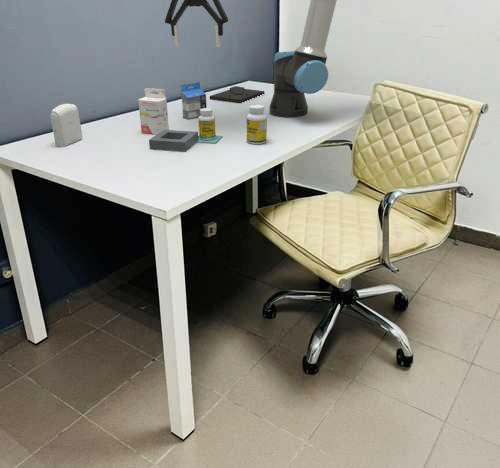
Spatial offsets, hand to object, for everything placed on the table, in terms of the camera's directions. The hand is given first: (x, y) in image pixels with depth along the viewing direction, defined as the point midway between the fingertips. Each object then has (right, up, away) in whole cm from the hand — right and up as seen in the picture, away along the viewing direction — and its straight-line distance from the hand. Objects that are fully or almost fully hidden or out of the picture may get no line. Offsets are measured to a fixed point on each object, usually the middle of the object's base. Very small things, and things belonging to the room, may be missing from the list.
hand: (198, 46), depth 164 cm
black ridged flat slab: (+11, 0, +63) cm, 64 cm away
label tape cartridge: (-4, -15, +32) cm, 36 cm away
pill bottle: (+19, -31, +2) cm, 36 cm away
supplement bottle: (+3, -29, +4) cm, 29 cm away
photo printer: (-43, -31, +3) cm, 53 cm away
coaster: (+3, -29, +4) cm, 30 cm away
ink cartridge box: (-16, -25, +12) cm, 33 cm away
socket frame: (-7, -32, -1) cm, 33 cm away
